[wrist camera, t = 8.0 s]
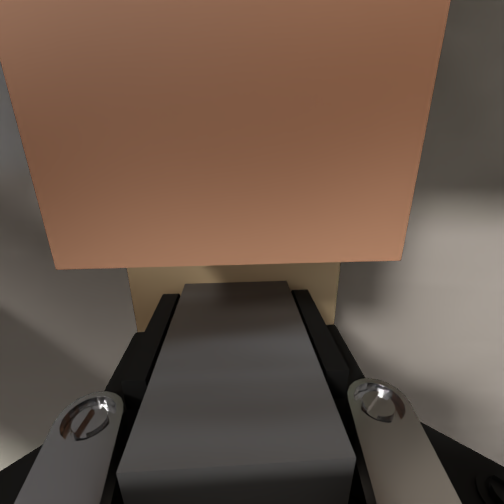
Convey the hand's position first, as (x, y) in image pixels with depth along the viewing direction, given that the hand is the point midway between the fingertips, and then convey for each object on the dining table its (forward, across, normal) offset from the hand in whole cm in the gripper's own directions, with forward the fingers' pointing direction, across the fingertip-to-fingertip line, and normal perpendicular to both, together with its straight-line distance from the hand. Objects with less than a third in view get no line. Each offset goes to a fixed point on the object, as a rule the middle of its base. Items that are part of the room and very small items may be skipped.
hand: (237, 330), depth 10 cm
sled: (+1, 0, -7) cm, 7 cm away
